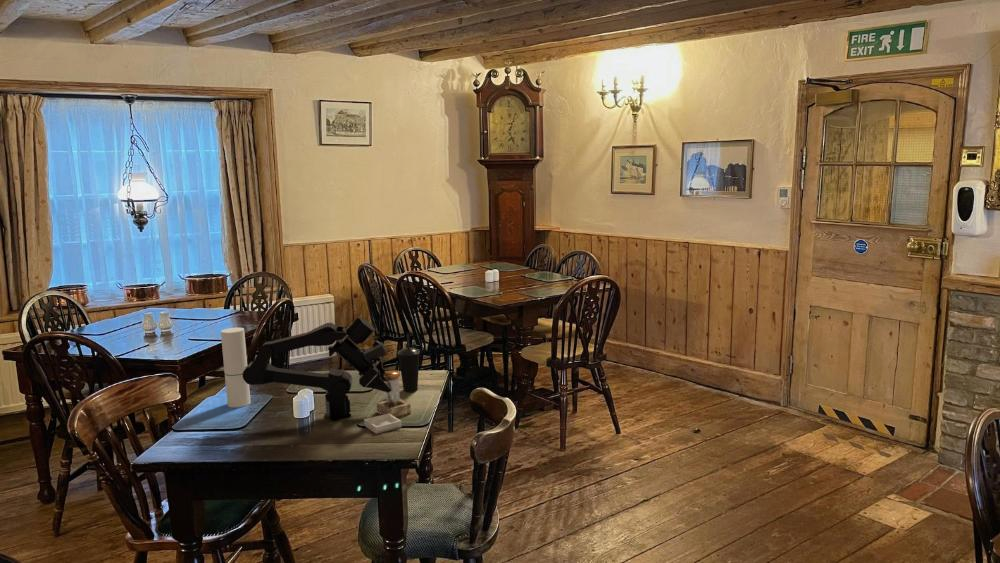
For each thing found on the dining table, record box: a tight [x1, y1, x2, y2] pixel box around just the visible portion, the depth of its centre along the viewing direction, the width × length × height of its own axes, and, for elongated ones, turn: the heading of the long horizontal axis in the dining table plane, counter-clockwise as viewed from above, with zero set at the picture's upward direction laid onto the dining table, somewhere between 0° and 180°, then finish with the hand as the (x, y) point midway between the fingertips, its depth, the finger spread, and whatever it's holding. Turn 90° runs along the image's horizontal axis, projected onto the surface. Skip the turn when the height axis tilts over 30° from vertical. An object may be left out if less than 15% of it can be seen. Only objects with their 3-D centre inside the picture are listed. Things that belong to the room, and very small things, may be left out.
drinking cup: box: [397, 332, 421, 393], centre depth 243 cm, size 8×8×20 cm
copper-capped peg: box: [384, 369, 401, 408], centre depth 222 cm, size 5×5×13 cm
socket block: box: [376, 398, 412, 418], centre depth 222 cm, size 8×8×3 cm
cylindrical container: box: [220, 327, 252, 408], centre depth 232 cm, size 7×7×25 cm
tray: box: [363, 413, 403, 435], centre depth 211 cm, size 8×8×2 cm
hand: (390, 386), depth 221 cm, fingers open, 9 cm apart
